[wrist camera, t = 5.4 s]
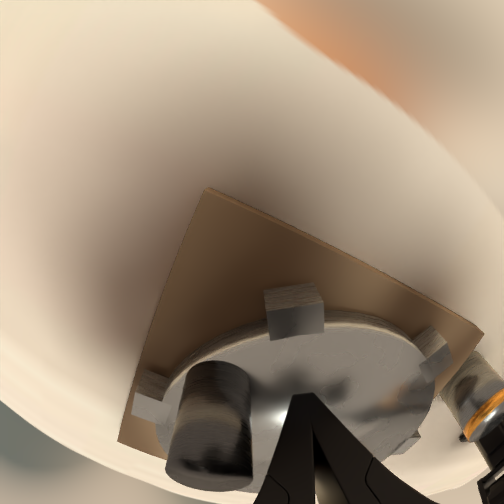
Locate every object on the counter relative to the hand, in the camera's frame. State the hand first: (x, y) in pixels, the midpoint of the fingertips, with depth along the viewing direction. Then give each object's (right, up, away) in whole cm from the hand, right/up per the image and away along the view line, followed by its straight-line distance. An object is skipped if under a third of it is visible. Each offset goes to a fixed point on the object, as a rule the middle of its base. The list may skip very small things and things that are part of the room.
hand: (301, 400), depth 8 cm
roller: (+13, -4, +6) cm, 15 cm away
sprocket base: (+1, -4, +6) cm, 7 cm away
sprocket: (+1, -4, +4) cm, 6 cm away
